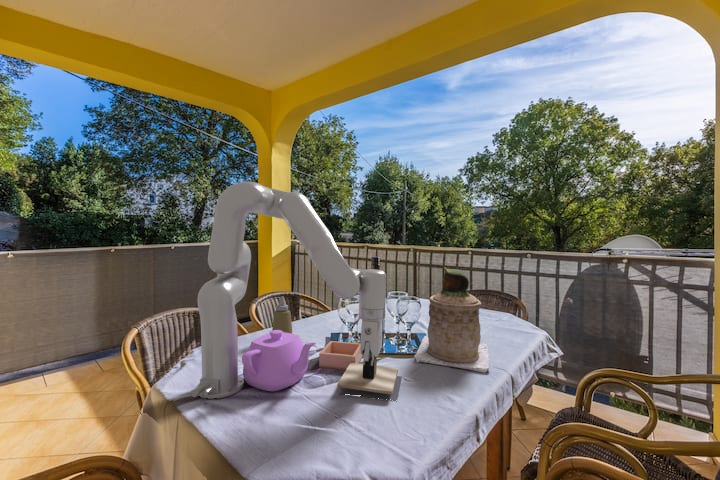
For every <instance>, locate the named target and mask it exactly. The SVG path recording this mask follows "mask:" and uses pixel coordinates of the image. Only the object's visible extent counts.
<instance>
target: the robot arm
mask: <svg viewBox="0 0 720 480" xmlns="http://www.w3.org/2000/svg"><path fill="white" fill-rule="evenodd" d="M249 214H256V215H257V214H258V215H263V216H267V217H271V218H277V219H281V220H283V221H284V222H285V223H286V224H287V226H288V228H289V229H290V231H291V232H292V233H293V234H294V236H295V237H296V238H297V240H298V242H299V243H300V244H301V245H302V248H303V249H304V250H305V252H306V254H307V255H308V257H309V259H310V260H311V262H312V263H313V264H314V266H315V268H316V270H317V272H318V273H319V274H320V275H321V277H322V278H323V280H324V281H325V283H326V284H327V286H328V287H329V288H330V289H331V291H332V292H333V294H334V295H335V296H336V297H338V298H339V299H343V300H350V299H353V298H354V297H356V296H357V295H358V294H359V295H358V296H359V297H358V298H359V300H358V301H359V302H358V304H359V305H358V319H360V320H361V326H360V329H361V330H360V343H361V344H360V352H361V354H362V355H363V358H362V359H363V363H362V364H363V378H366V379H374V365H373V362H374V357H378V356H379V355H380V352H381V350H382V347H383V321H384V320H385V318H386V315H385V314H386V298H387V297H386V295H387V291H386V290H387V273H386V272H385V271H384V270H381V269H374V268H373V269H372V268H371V269H370V268H369V269H359V268H354V267H350V265H349V263H348V262H347V261H346V259H345V257H344V256H343V255H342V253H341V252H340V250H339V249H338V246H337V244H336V242H335V240H334V237H333V235H332V233H331V232H330V230H329V228H328V227H327V226H326V225H325V223H324V222H323V220H322V219H321V218H320V215H318V213H317V212H316V211H315V209H314V208H313V206H312V204H311V201H310V200H309V198H308V197H307V196H306V195H304V194H303V193H301V192H299V191H289V192H288V191H283V190H279V189H276V188H270V187H268V186H267V187H266V186H264V185H262V184H261V183H258V182H255V181H240V182H236V183H234V184H231V185H230V186H227V188H225V189H224V190H223V191H222V192H221V194H220V195H219V197H218V199H217V202H216V205H215V211H214V217H213V218H214V219H213V224H212V230H211V234H210V241H209V242H210V243H209V246H208V247H209V248H208V254H207V264H208V266H209V268H210V270H211V271H212V272H214V273H216V277H214V278H213V279H210V280H209V281H206V282H205V283H204V284H203V285H202V286H201V288H200V289H199V291H198V294H197V298H196V299H197V308H198V312H199V318H200V321H199V322H200V337H201V339H200V341H201V342H200V343H201V345H200V346H201V349H200V350H201V377H200V379H199V383H198V384H197V385H196V386H195V388H194V389H192V390H191V391H190V396H191V397H192V398H197V397H199V396H200V397H199V398H203V399H206V398H208V400H211V399H213V400H214V398H217V399H222V398H227V397H229V396H232V395H234V394H237V393H238V392H240V391H241V390H242V388H243V387H244V386H245V385H244V384H245V381H244V380H245V379H244V377H243V376H242V377H241V376H240V375H239V350H238V349H239V345H238V344H239V343H238V342H239V340H238V339H239V338H238V336H239V334H238V318H237V311H236V304H238V303H239V302H240V301H242V299H243V298H244V296H245V295H246V293H247V287H248V281H249V275H250V269H251V262H252V252H251V249H250V247H249V245H248V244H247V243H246V242H245V241H244V240H245V239H244V238H245V233H246V226H247V225H246V224H247V223H246V219H247V216H248V215H249ZM369 357H371V358H369ZM377 361H378V360H377V359H376V367H377V366H378V365H377V363H378V362H377Z"/></svg>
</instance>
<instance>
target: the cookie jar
mask: <svg viewBox="0 0 720 480" xmlns="http://www.w3.org/2000/svg"><path fill="white" fill-rule="evenodd" d="M443 270H444V274H443V278H442V289H440V290H439V291H438V292H437V293H436V294H434V295H431V296H430V297H428V299H429V306H428V316H429V321H428V326H427V335H424V336H423V338H422V339H421V343H420V345H419V346H418V349H417V352H416V353H415V354H414V355H413V356H414V359H416V362H417V363H426V364H432V365H438V366H445V367H451V368H458V369H463V370H468V371H469V370H470V371H474V372H477V373H478V372H479V373H482V374H483V373H484V374H485V373H487V371H488V370H490V368H491V367H490V363H489V361H490V360H489V359H490V356H489V350H488V345H487V344H486V343H481V339H482V338H481V323H480V309H481V308H482V306H483V305H482V302H481V301H480V300H479V299H478V298H477V297H475V296H474V295H473V294H471V293H469V292H468V291H467V290H468V289H469V286H470V285H469V284H470V281H469V278H468V277H467V275H466V274H465V273H464V271H462V270H461V269H458V268H456V269H455V268H454V269H451V268H449V269H448V268H447V267H445V266H444V267H443Z"/></svg>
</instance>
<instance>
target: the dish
mask: <svg viewBox="0 0 720 480" xmlns="http://www.w3.org/2000/svg"><path fill="white" fill-rule="evenodd" d="M360 344H361V342H360V343H359V342H348V341H347V342H345V341H335V340H334V341H333V340H330V341H329V342H328V343H327V344H326V345H325V346H324V348H323V349H322V350H321V351H320V352H319V353H318V359H319V361H318V363H319V364H318V365H319V366H318V367H319V368H322V369H329V370H330V369H331V370H341V371H342V370H343V371H346V369H347V368H348V366H349V364H350V363H351V362H352V363H360V364H361V361H362V359H363V358H364V354H363V355H362V354H361V352H360Z"/></svg>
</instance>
